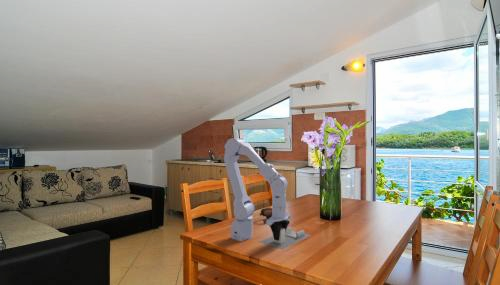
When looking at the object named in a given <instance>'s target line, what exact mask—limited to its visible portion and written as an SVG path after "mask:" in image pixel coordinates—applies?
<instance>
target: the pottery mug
mask: <svg viewBox="0 0 500 285" xmlns="http://www.w3.org/2000/svg"><path fill="white" fill-rule="evenodd" d="M262 216H263V217H265V219H262V222H263V224H264V225H265V224H266V220H267V219H269V218H270V217H272V207H266V208H262V209H261V210H260V212H259V217H262ZM266 225H267V224H266Z"/></svg>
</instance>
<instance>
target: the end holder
mask: <svg viewBox="0 0 500 285" xmlns="http://www.w3.org/2000/svg"><path fill="white" fill-rule="evenodd" d="M294 231H295V230H293V228H292V226H287V229H286V232H285V236H288V237H292V238H296V239H298V238H300V237H302V236H305V234H306V233H305V230H304V229H301V230H299V231H296V232H294Z"/></svg>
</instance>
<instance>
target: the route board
mask: <svg viewBox="0 0 500 285" xmlns="http://www.w3.org/2000/svg"><path fill="white" fill-rule="evenodd" d="M293 231H294V232H297V231H296V230H293ZM304 234H305V236H302V237H300V238H298V239H296V238H292V237H288V236H285V242H283V243H281V244H280V243H277V242H274V241H273V235H272V236H270V237H267V238H265V239H263V240H260V241H259V243H261V244H264V245H268V246H271V247H273V248H277V249H280V250H284V249H287V248H288V247H290V246H293V245H294V244H297V243H299V242H300V241H303V240H305V239H307V238H309V237H311V236H312V234H311V235H310V234H308V233H304Z"/></svg>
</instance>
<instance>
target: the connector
mask: <svg viewBox="0 0 500 285" xmlns="http://www.w3.org/2000/svg"><path fill="white" fill-rule="evenodd" d="M273 241H274V242H277V243H280V244H281V243H283V242H285V228H281V229H280V237H279V240H274V237H273Z"/></svg>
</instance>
